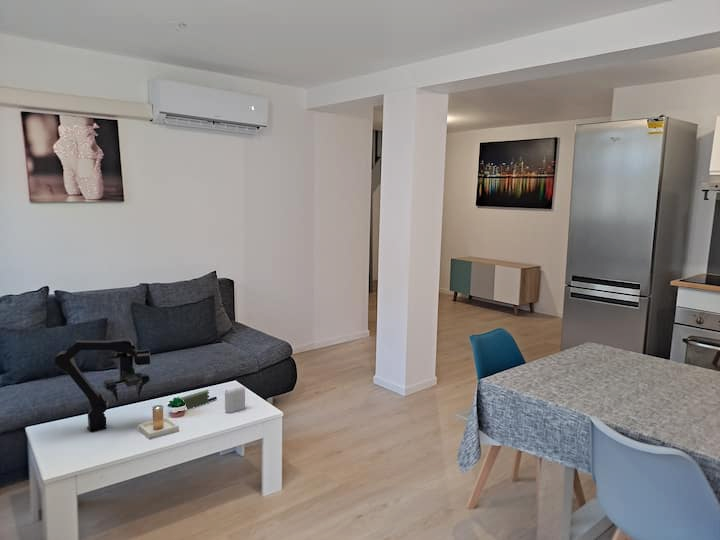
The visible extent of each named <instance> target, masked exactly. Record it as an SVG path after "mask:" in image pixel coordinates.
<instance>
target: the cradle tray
mask: <svg viewBox="0 0 720 540" xmlns="http://www.w3.org/2000/svg"><path fill="white" fill-rule="evenodd" d="M163 423H164V428H163V429H162V430H158V431H156V430H153V420H151V421H147V422H143V423H139V424H138V425H137V426H138V429H137V430H138V431H139V432H140V433H141V434H142V435H144V436H145V437H146V438H147V439H149V440H152V439H157V438H159V437H163V435H164V436H166V435H170V433H171V434H175V433H177V431H178V432H179V431H180V426H179V425H178V424H177V423H175V422H174V421H173V420H171V419H170V418H168V417H163ZM174 432H175V433H174Z"/></svg>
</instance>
